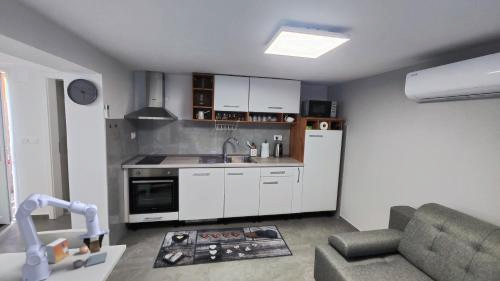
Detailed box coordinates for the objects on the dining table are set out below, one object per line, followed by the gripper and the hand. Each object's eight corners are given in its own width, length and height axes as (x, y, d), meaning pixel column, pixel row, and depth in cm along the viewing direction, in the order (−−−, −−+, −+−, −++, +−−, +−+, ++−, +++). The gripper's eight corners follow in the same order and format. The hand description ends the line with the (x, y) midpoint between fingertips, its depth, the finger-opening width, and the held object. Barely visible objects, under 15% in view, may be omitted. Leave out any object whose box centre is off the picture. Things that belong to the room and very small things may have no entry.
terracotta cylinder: (78, 255, 133) (78, 250, 132) (81, 251, 136) (80, 246, 136) (86, 253, 134) (86, 249, 134) (89, 249, 138) (88, 245, 137)
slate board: (85, 267, 122) (85, 265, 122) (89, 257, 130) (89, 256, 130) (104, 262, 126) (104, 260, 126) (107, 253, 134) (107, 251, 134)
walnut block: (90, 253, 124) (89, 245, 124) (92, 249, 128) (91, 241, 128) (99, 251, 126) (98, 243, 126) (101, 247, 130) (100, 239, 130)
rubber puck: (72, 270, 120) (71, 265, 120) (74, 265, 124) (73, 260, 123) (81, 267, 122) (80, 263, 121) (83, 263, 125) (82, 258, 125)
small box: (55, 263, 126) (53, 246, 124) (47, 262, 127) (45, 245, 125) (69, 254, 133) (67, 238, 132) (62, 253, 134) (59, 237, 133)
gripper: (75, 232, 119) (78, 256, 120) (106, 226, 125) (109, 248, 127) (78, 226, 125) (81, 248, 127) (108, 220, 131) (110, 241, 133)
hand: (95, 248), depth 127 cm, fingers closed on walnut block, 4 cm apart
